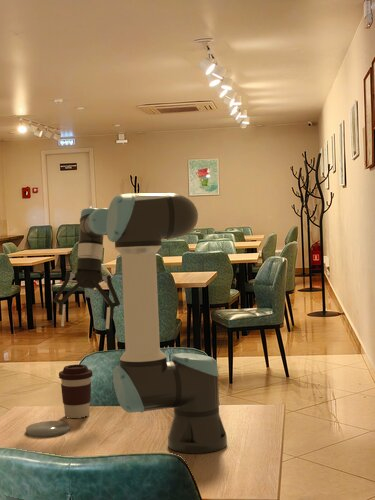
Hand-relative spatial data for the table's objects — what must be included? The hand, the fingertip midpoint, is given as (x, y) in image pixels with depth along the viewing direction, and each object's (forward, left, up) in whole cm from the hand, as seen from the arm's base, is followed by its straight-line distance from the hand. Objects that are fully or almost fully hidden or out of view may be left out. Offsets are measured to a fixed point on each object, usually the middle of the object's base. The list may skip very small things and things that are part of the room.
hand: (85, 327), depth 223 cm
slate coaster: (-14, +16, -26) cm, 34 cm away
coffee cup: (-3, +4, -26) cm, 27 cm away
